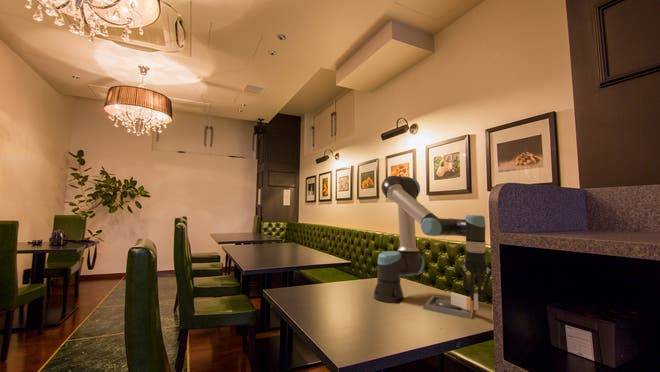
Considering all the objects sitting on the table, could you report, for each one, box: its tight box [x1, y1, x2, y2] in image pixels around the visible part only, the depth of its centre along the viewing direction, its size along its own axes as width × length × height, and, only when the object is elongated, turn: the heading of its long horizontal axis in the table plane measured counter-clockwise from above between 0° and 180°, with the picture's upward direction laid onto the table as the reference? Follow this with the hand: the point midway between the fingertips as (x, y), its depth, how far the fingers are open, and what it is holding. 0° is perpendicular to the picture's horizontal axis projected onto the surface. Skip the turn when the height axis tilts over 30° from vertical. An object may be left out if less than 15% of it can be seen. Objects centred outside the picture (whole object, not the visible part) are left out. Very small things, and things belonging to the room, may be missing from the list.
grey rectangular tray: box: [421, 295, 475, 320], centre depth 131 cm, size 20×18×3 cm
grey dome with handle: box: [436, 292, 474, 311], centre depth 129 cm, size 17×11×7 cm, turn 29°
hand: (476, 309), depth 119 cm, fingers closed
